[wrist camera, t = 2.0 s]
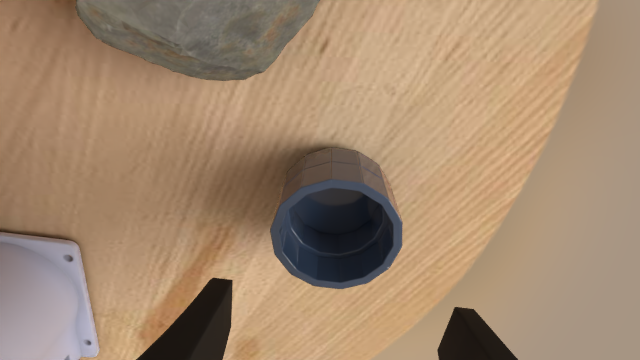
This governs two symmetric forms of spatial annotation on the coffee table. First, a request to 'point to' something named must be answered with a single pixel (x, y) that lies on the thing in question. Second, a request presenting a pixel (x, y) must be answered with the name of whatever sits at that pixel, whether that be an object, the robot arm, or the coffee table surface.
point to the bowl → (336, 220)
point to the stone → (199, 32)
